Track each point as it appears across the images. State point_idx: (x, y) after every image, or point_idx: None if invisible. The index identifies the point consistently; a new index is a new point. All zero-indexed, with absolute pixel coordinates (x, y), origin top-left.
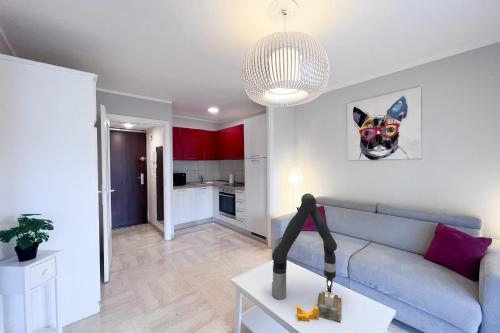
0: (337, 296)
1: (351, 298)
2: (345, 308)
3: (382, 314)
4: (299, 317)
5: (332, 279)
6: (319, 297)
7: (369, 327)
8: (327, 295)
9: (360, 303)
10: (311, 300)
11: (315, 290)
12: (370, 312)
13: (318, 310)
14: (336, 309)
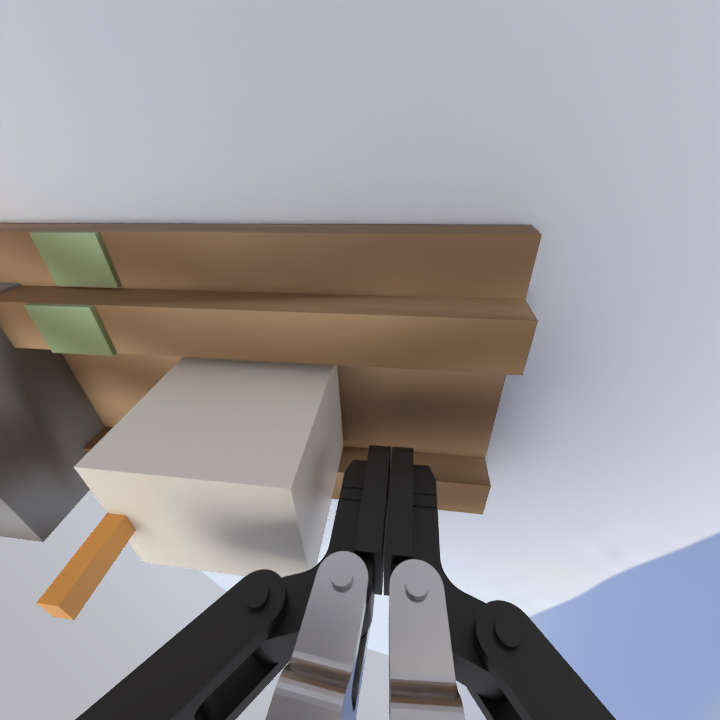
0: (448, 508)
1: (529, 559)
2: (335, 504)
3: (385, 640)
4: None
5: None
6: (372, 254)
7: (215, 576)
8: (144, 508)
9: (465, 591)
10: (262, 77)
11: (713, 107)
12: (374, 608)
13: (33, 268)
14: (18, 533)
